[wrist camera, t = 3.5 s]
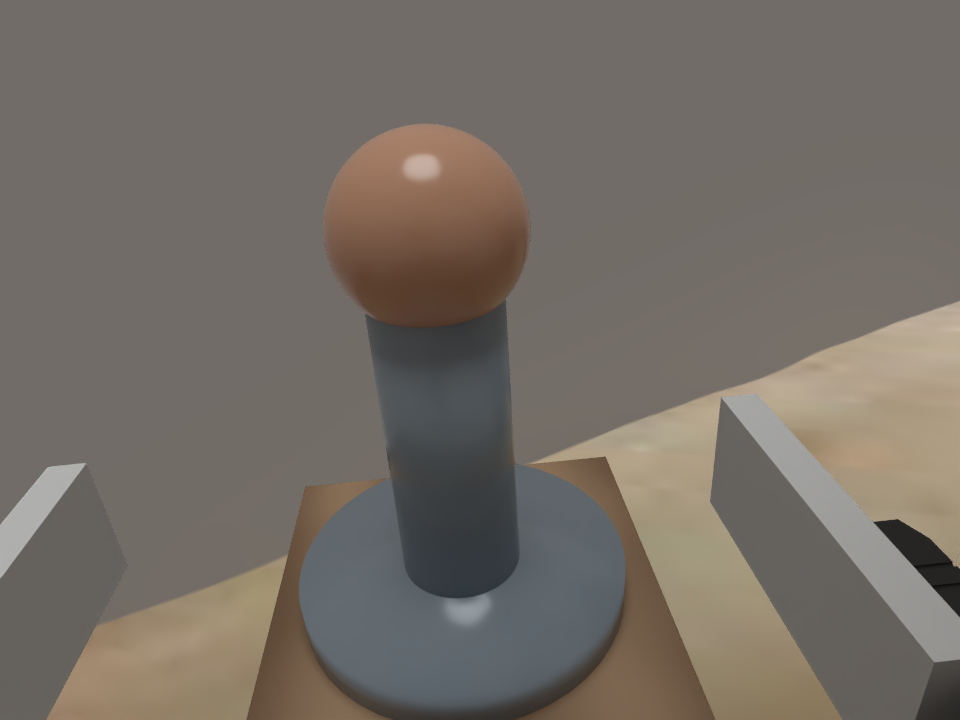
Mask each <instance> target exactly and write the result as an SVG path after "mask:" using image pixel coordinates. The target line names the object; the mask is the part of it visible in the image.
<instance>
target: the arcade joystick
mask: <svg viewBox="0 0 960 720" xmlns="http://www.w3.org/2000/svg"><path fill="white" fill-rule="evenodd" d="M323 237H324V246H325V250H326V254H327V258H328V262H329V264H330V267H331V270H332V272H333V274H334V276H335V278H336V280H337V282H338V283H339V285H340V287H341V288H342V289H343V291H344V292H345V293H346V295H347V296H348V297H349V299H350V300H351V301H352V302H353V303H354V304H355V305H356V306H357V307H358V308H359V309H361V310H362V311H363V312H364V313H365V316H366V322H367V329H368V335H369V341H370V348H371V354H372V361H373V367H374V373H375V380H376V386H377V393H378V399H379V406H380V412H381V418H382V425H383V431H384V438H385V444H386V450H387V457H388V463H389V470H390V476H391V478H389V479H387V480H385V481H383V482H380V483H378V484H376V485H374V486H372V487H371V488H369V489H367V490H366V491H364V492H362V493H361V494H359V495H357V496H356V497H355V498H353V499H352V500H351V501H349V502H348V503H347V504H345V505H344V506H343V507H342V508H341V509H340V510H339V511H337V512H336V513H335V514H334V515H333V516H332V517H331V518H330V519H329V521H328V522H327V523H326V524H325V525H324V526H323V527H322V528H321V530H320V531H319V533H318V534H317V536H316V537H315V539H314V540H313V542H312V544H311V546H310V548H309V550H308V552H307V554H306V556H305V559H304V562H303V566H302V569H301V574H300V581H299V601H300V606H301V610H302V614H303V618H304V622H305V626H306V630H307V634H308V638H309V642H310V646H311V649H312V651H313V653H314V655H315V658H316V660H317V662H318V664H319V665H320V667H321V668H322V670H323V671H324V673H325V674H326V675H327V677H328V678H329V679H330V680H331V681H332V682H333V683H334V685H335V686H336V687H337V688H338V689H339V690H340V691H341V692H342V693H344V694H345V695H347V696H348V697H349V698H351V699H352V700H353V701H355V702H356V703H358V704H359V705H361V706H363V707H365V708H367V709H369V710H371V711H372V712H374V713H376V714H378V715H381V716H384V717H387V718H390V719H393V720H513V719H516V718H519V717H523V716H526V715H528V714H530V713H532V712H535V711H537V710H539V709H541V708H544V707H546V706H548V705H550V704H551V703H553V702H555V701H556V700H558V699H560V698H561V697H563V696H564V695H566V694H568V693H569V692H570V691H571V690H573V689H574V688H575V687H576V686H578V685H579V684H580V683H581V682H583V681H584V680H585V679H586V678H587V677H588V676H589V675H590V674H591V673H592V672H593V670H594V669H595V668H596V667H597V666H598V665H599V664H600V663H601V661H602V660H603V658H604V657H605V655H606V654H607V652H608V651H609V649H610V648H611V646H612V644H613V641H614V639H615V637H616V635H617V633H618V631H619V627H620V623H621V620H622V616H623V610H624V598H625V574H626V565H625V555H624V549H623V546H622V542H621V539H620V536H619V534H618V532H617V530H616V528H615V526H614V524H613V522H612V521H611V520H610V518H609V517H608V515H607V514H606V512H605V511H604V510H603V509H602V508H601V507H600V506H599V505H598V504H597V503H596V502H595V501H594V500H593V499H592V498H591V497H590V496H588V495H587V494H586V493H585V492H583V491H582V490H581V489H579V488H577V487H576V486H574V485H573V484H571V483H569V482H568V481H565V480H563V479H561V478H559V477H557V476H555V475H553V474H550V473H547V472H545V471H542V470H539V469H535V468H532V467H528V466H524V465H519V464H515V462H514V461H515V460H514V442H513V424H512V407H511V389H510V369H509V351H508V333H507V316H506V298H507V297H508V296H509V294H510V293H511V292H512V290H513V289H514V287H515V285H516V283H517V282H518V280H519V278H520V276H521V274H522V272H523V269H524V267H525V263H526V260H527V256H528V251H529V245H530V237H531V224H530V215H529V210H528V206H527V202H526V198H525V195H524V193H523V190H522V187H521V185H520V183H519V181H518V179H517V178H516V176H515V174H514V172H513V171H512V170H511V168H510V167H509V166H508V164H507V163H506V162H505V160H504V159H502V157H501V156H500V155H499V154H498V153H497V152H496V151H495V150H494V149H492V148H491V147H490V146H488V145H487V144H486V143H485V142H483V141H481V140H480V139H478V138H476V137H475V136H473V135H471V134H469V133H466V132H464V131H461V130H459V129H456V128H452V127H448V126H443V125H436V124H413V125H407V126H403V127H399V128H395V129H392V130H389V131H387V132H385V133H382V134H380V135H378V136H376V137H375V138H373V139H371V140H370V141H368V142H367V143H365V144H364V145H363V146H362V147H360V148H359V149H358V150H357V151H356V152H354V154H353V155H352V156H351V157H350V158H349V159H348V160H347V161H346V163H345V164H344V165H343V167H342V168H341V170H340V171H339V173H338V174H337V176H336V178H335V180H334V182H333V184H332V186H331V188H330V191H329V195H328V198H327V201H326V205H325V211H324V217H323Z"/></svg>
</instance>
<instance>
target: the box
mask: <svg viewBox="0 0 960 720" xmlns="http://www.w3.org/2000/svg"><path fill="white" fill-rule="evenodd" d="M524 466H528V467H532V468H535V469H539V470H542V471H545V472H547V473H550V474H553V475H555V476H557V477H559V478H561V479H563V480H565V481H568V482H569V483H571V484H573V485H574V486H576V487H577V488H579V489H581V490H582V491H583V492H585V493H586V494H587V495H588V496H590V497H591V498H592V499H593V500H594V501H595V502H596V503H597V504H598V505H599V506H600V507H601V508H602V509H603V510H604V511H605V512H606V514H607V515H608V517H609V518H610V520H611V521H612V522H613V524H614V526H615V528H616V530H617V532H618V534H619V536H620V539H621V542H622V546H623V549H624V555H625V565H626V574H625V598H624V610H623V616H622V620H621V623H620V627H619V631H618V633H617V635H616V637H615V639H614V641H613V644H612V646H611V648H610V649H609V651H608V652H607V654H606V655H605V657H604V658H603V660H602V661H601V663H600V664H599V665H598V666H597V667H596V668H595V669H594V670H593V672H592V673H591V674H590V675H589V676H588V677H587V678H586V679H585V680H584V681H583V682H581V683H580V684H579V685H578V686H576V687H575V688H574V689H573V690H571V691H570V692H569V693H568V694H566V695H564V696H563V697H561V698H560V699H558V700H556V701H555V702H553V703H551V704H550V705H548V706H546V707H544V708H541V709H539V710H537V711H535V712H532V713H530V714H528V715H526V716H523V717H519V718H516V719H513V720H715V718H714V716H713V713H712V711H711V708H710V706H709V704H708V701H707V699H706V696H705V694H704V692H703V689H702V687H701V685H700V682H699V680H698V677H697V675H696V673H695V670H694V668H693V665H692V663H691V661H690V658H689V656H688V653H687V651H686V649H685V646H684V644H683V641H682V639H681V637H680V634H679V632H678V629H677V627H676V625H675V622H674V620H673V617H672V615H671V613H670V610H669V608H668V605H667V603H666V601H665V598H664V596H663V593H662V591H661V589H660V586H659V584H658V581H657V579H656V577H655V574H654V572H653V569H652V567H651V565H650V562H649V560H648V557H647V555H646V553H645V550H644V548H643V545H642V543H641V541H640V538H639V536H638V533H637V531H636V529H635V526H634V524H633V522H632V519H631V517H630V514H629V512H628V510H627V507H626V505H625V502H624V500H623V498H622V495H621V493H620V490H619V488H618V486H617V483H616V481H615V478H614V476H613V474H612V471H611V469H610V466H609V464H608V462H607V459H606V457H598V458H588V459H578V460H568V461H558V462H548V463H538V464H528V465H524ZM385 480H387V479H379V480H369V481H359V482H349V483H339V484H330V485H319V486H309V487H305V490H304V494H303V499H302V503H301V506H300V511H299V514H298V518H297V522H296V526H295V530H294V534H293V538H292V542H291V546H290V550H289V554H288V558H287V562H286V566H285V570H284V574H283V578H282V582H281V585H280V589H279V593H278V597H277V601H276V605H275V609H274V613H273V617H272V621H271V625H270V629H269V633H268V637H267V641H266V645H265V649H264V653H263V657H262V661H261V665H260V669H259V673H258V677H257V681H256V684H255V688H254V692H253V696H252V700H251V704H250V708H249V712H248V716H247V720H393V719H390V718H387V717H384V716H381V715H378V714H376V713H374V712H372V711H371V710H369V709H367V708H365V707H363V706H361V705H359V704H358V703H356V702H355V701H353V700H352V699H351V698H349V697H348V696H347V695H345V694H344V693H342V692H341V691H340V690H339V689H338V688H337V687H336V686H335V685H334V683H333V682H332V681H331V680H330V679H329V678H328V677H327V675H326V674H325V673H324V671H323V670H322V668H321V667H320V665H319V664H318V662H317V660H316V658H315V655H314V653H313V651H312V649H311V646H310V642H309V638H308V634H307V630H306V626H305V622H304V618H303V614H302V610H301V606H300V601H299V581H300V574H301V569H302V566H303V562H304V559H305V556H306V554H307V552H308V550H309V548H310V546H311V544H312V542H313V540H314V539H315V537H316V536H317V534H318V533H319V531H320V530H321V528H322V527H323V526H324V525H325V524H326V523H327V522H328V521H329V519H330V518H331V517H332V516H333V515H334V514H335V513H336V512H337V511H339V510H340V509H341V508H342V507H343V506H344V505H345V504H347V503H348V502H349V501H351V500H352V499H353V498H355V497H356V496H357V495H359V494H361V493H362V492H364V491H366V490H367V489H369V488H371V487H372V486H374V485H376V484H378V483H380V482H383V481H385Z"/></svg>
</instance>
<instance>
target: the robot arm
mask: <svg viewBox="0 0 960 720" xmlns="http://www.w3.org/2000/svg"><path fill="white" fill-rule="evenodd" d="M710 502H711V504H712V505H713V507H714V509H715V510H716V512H717V514H718V515H719V517H720V518H721V520H722V522H723V523H724V525H725V527H726V528H727V530H728V532H729V533H730V535H731V537H732V538H733V540H734V541H735V543H736V545H737V546H738V548H739V550H740V551H741V553H742V555H743V556H744V558H745V560H746V561H747V563H748V564H749V566H750V568H751V569H752V571H753V573H754V574H755V576H756V578H757V579H758V581H759V583H760V584H761V586H762V588H763V589H764V591H765V592H766V594H767V596H768V597H769V599H770V601H771V602H772V604H773V606H774V607H775V609H776V611H777V612H778V614H779V615H780V617H781V619H782V620H783V622H784V624H785V625H786V627H787V629H788V630H789V632H790V634H791V635H792V637H793V638H794V640H795V642H796V643H797V645H798V647H799V648H800V650H801V652H802V653H803V655H804V657H805V658H806V660H807V661H808V663H809V665H810V666H811V668H812V670H813V671H814V673H815V675H816V676H817V678H818V680H819V681H820V683H821V684H822V686H823V688H824V689H825V691H826V693H827V694H828V696H829V698H830V699H831V701H832V703H833V704H834V706H835V707H836V709H837V711H838V712H839V714H840V716H841V717H842V719H843V720H960V569H959V568H958V567H957V566H956V567H954V566H953V564H952V561H951V560H950V559H949V558H948V557H947V556H946V555H945V554H944V553H943V552H942V551H941V550H940V549H939V548H938V547H937V546H936V545H935V544H934V542H933V541H932V540H931V539H930V538H928V537H926V536H925V535H923V534H921V533H920V532H918V531H916V530H915V529H913V528H911V527H910V526H908V525H906V524H905V523H903V522H901V521H900V520H898V519H896V520H887V521H878V522H873V521H872V520H871V519H870V518H869V517H868V516H867V515H866V514H865V513H864V511H863V510H862V509H861V508H860V507H859V506H858V505H857V504H856V503H855V502H854V500H853V499H852V498H851V497H850V496H849V495H848V494H847V493H846V492H845V491H844V489H843V488H842V487H841V486H840V485H839V484H838V483H837V482H836V481H835V480H834V478H833V477H832V476H831V475H830V474H829V473H828V472H827V471H826V470H825V469H824V467H823V466H822V465H821V464H820V463H819V462H818V461H817V460H816V459H815V458H814V456H813V455H812V454H811V453H810V452H809V451H808V450H807V449H806V448H805V446H804V445H803V444H802V443H801V442H800V441H799V440H798V439H797V438H796V437H795V435H794V434H793V433H792V432H791V431H790V430H789V429H788V428H787V427H786V426H785V424H784V423H783V422H782V421H781V420H780V419H779V418H778V417H777V416H776V415H775V413H774V412H773V411H772V410H771V409H770V408H769V407H768V406H767V405H766V404H765V402H764V401H763V400H762V399H761V398H760V397H759V396H758V395H757V394H750V395H740V396H730V397H721V404H720V413H719V423H718V432H717V442H716V451H715V461H714V471H713V480H712V490H711V499H710ZM127 566H128V565H127V562H126V560H125V557H124V555H123V553H122V550H121V547H120V545H119V543H118V540H117V537H116V535H115V533H114V530H113V528H112V525H111V523H110V520H109V518H108V515H107V513H106V510H105V508H104V505H103V503H102V500H101V498H100V495H99V493H98V490H97V488H96V485H95V483H94V480H93V478H92V475H91V473H90V470H89V468H88V465H87V463H82V464H73V465H63V466H54V467H48V468H47V469H46V470H45V471H44V473H43V474H42V475H41V476H40V477H39V479H38V480H37V481H36V482H35V484H34V485H33V486H32V487H31V488H30V489H29V491H28V492H27V493H26V494H25V495H24V497H23V498H22V499H21V500H20V502H19V503H18V504H17V505H16V506H15V508H14V509H13V510H12V511H11V512H10V514H9V515H8V516H7V517H6V519H5V520H4V521H3V522H2V523H1V525H0V720H46V719H47V717H48V715H49V713H50V711H51V710H52V708H53V706H54V704H55V702H56V700H57V698H58V696H59V694H60V693H61V691H62V689H63V687H64V685H65V683H66V681H67V679H68V677H69V676H70V674H71V672H72V670H73V668H74V666H75V664H76V662H77V660H78V659H79V657H80V655H81V653H82V651H83V649H84V647H85V645H86V644H87V642H88V640H89V638H90V636H91V634H92V632H93V630H94V628H95V627H96V625H97V622H98V621H99V619H100V617H101V615H102V613H103V611H104V610H105V607H106V606H107V604H108V602H109V600H110V598H111V596H112V594H113V592H114V591H115V589H116V587H117V585H118V583H119V581H120V579H121V577H122V575H123V574H124V572H125V570H126V568H127Z"/></svg>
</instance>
